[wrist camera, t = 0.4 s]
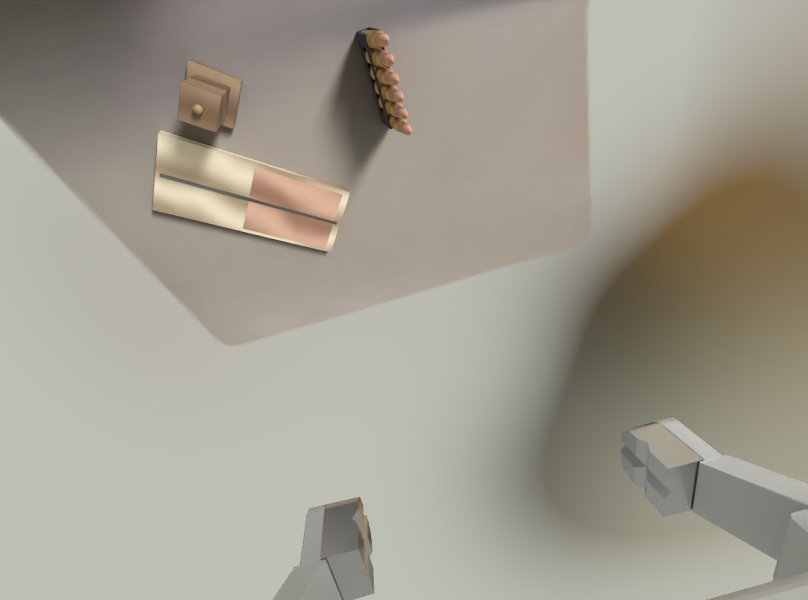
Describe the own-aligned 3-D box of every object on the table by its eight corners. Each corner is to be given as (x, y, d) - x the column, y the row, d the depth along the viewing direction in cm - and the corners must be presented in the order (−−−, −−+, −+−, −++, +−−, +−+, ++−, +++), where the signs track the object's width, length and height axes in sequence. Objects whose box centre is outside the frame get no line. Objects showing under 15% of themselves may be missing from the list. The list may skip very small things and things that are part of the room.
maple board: (161, 130, 45) (157, 133, 44) (348, 189, 55) (350, 193, 54) (155, 205, 50) (152, 210, 48) (329, 248, 60) (330, 252, 59)
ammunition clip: (395, 118, 51) (420, 138, 42) (382, 123, 51) (405, 144, 42) (370, 26, 45) (393, 25, 35) (355, 32, 45) (375, 32, 35)
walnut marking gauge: (190, 59, 42) (167, 66, 34) (242, 80, 45) (232, 91, 36) (185, 109, 45) (162, 128, 36) (234, 126, 47) (223, 147, 38)
